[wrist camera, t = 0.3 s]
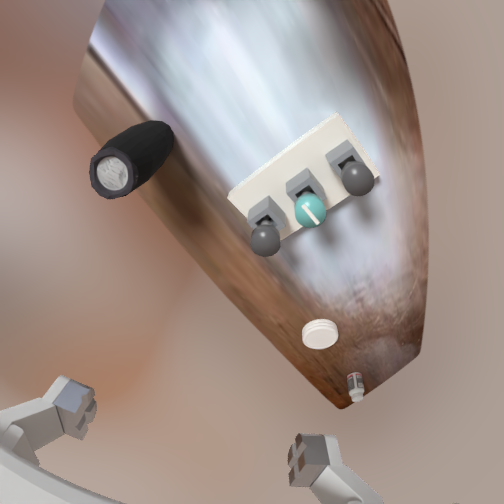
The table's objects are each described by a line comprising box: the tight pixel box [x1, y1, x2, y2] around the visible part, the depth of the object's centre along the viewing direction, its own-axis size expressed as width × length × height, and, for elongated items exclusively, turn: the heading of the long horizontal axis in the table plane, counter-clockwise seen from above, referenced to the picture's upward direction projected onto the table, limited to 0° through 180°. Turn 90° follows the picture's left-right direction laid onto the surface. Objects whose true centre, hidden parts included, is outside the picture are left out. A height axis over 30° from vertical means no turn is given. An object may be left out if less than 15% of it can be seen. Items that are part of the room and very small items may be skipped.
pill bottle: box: [347, 372, 364, 402], centre depth 93 cm, size 5×5×10 cm
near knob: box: [341, 161, 374, 196], centre depth 45 cm, size 5×5×6 cm
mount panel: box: [228, 112, 380, 241], centre depth 55 cm, size 26×14×8 cm, turn 131°
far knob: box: [251, 220, 280, 257], centre depth 52 cm, size 5×5×6 cm
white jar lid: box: [302, 319, 338, 349], centre depth 82 cm, size 10×10×4 cm
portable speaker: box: [89, 121, 173, 199], centre depth 47 cm, size 9×9×20 cm
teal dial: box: [294, 191, 326, 228], centre depth 49 cm, size 5×5×7 cm
